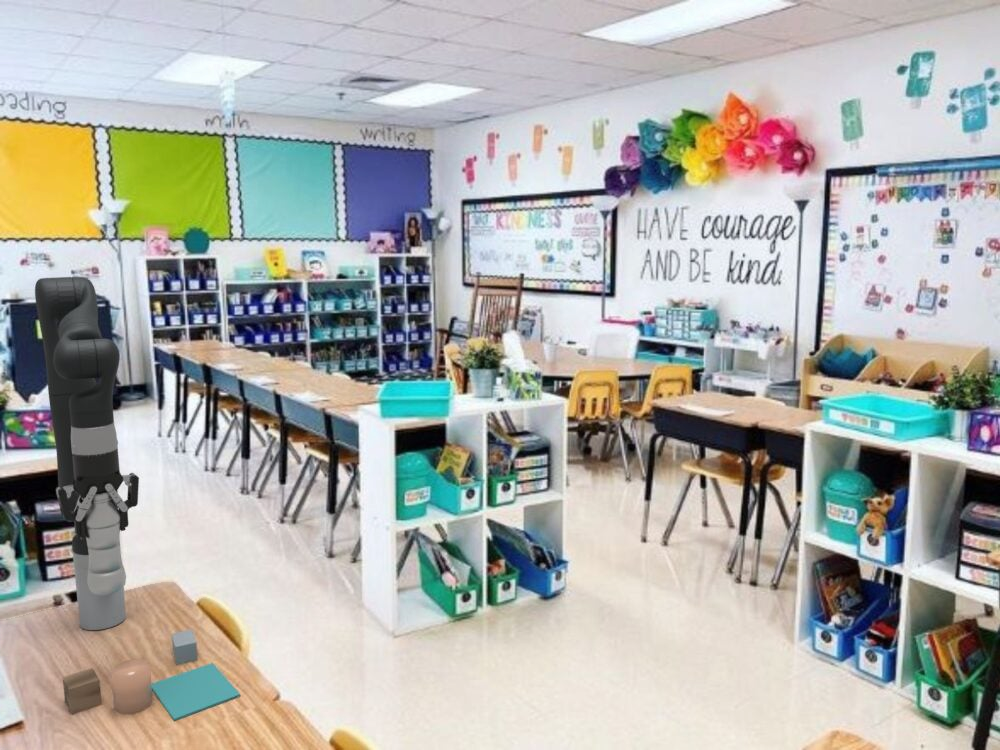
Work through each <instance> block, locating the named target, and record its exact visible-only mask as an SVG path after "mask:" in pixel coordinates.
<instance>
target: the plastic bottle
mask: <svg viewBox="0 0 1000 750" xmlns="http://www.w3.org/2000/svg"><path fill="white" fill-rule="evenodd" d="M111 500H112V498H110V495H109V493H108V492H106V493H102V494H95V495H94V497H93V501H92V502H91V503H90V506H89V508H88V510H86V512H85V515H84V517H83V520H84V521H85V532H86V539H87V546H88V552H89V571H88V579H87V583H88V586H89V589H90V591H91V592H92V593H94V594H96V595H109V594H113V593H116V592H119V591H120V590H122V589H123V587H124V588H125V586H126V582H127V581H126V580H127V575H126V571H125V567H124V564H123V560H122V553H120V549H121V539H120V538H121V537H120V534H121V533H120V532H121V530H120V521H121V516H120V513H119V511H118V510H119V509H118V510H117V508H116V507H115V506H114V505H113V504H112V503H111V502H110V501H111ZM119 543H120V544H119Z"/></svg>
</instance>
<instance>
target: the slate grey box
mask: <svg viewBox="0 0 1000 750" xmlns="http://www.w3.org/2000/svg"><path fill="white" fill-rule="evenodd" d="M171 642H172V651H173V657H174V662H175V664H176V665H177V666H178V665H182V664H187V663H191V661H192V662H195V660H196V661H198V644H197V640H196V636H195V632H194V630H193V629H192V628H191V629H188V630H186V629H185V630H183V631H182V630H181V631H178V632H173V633H171Z"/></svg>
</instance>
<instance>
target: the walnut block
mask: <svg viewBox="0 0 1000 750" xmlns="http://www.w3.org/2000/svg"><path fill="white" fill-rule="evenodd" d="M62 686H63V696H64V703H65V705H66V706H67V708H68V710H69V712H70V715H71V716H72V715H75V714H77V713H80V712H83V711H86V710H89V709H92V708H96V707H99V706H100V705H102V704H103V701H102V691H101V683H100V678H99V676H98V675H97V673H96V671H95V670H94V668H93V667H92V668H91V667H90V668H88V669H85V670H81V671H79V672H75V673H72V674H69V675H66V676H63V677H62Z"/></svg>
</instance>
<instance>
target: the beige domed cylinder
mask: <svg viewBox="0 0 1000 750" xmlns="http://www.w3.org/2000/svg"><path fill="white" fill-rule="evenodd" d="M110 676H111V686H112V687H111V689H112V697H113V698H112V700H113V709H114V711H115V713H118V714H120V715H133V714H136V713H139V712H142V711H144V710H146V709H148V708H149V707H150V706H151V705H152V703H153V700H154V699H153V690H152V686H151V684H152V674H151V665H150V662H149V661H148V660H145V659H140V658H139V659H136V658H135V659H130V660H126V661H123V662H120V663H118V664H117V665H115V666H114V667H113V668H112V669H111V671H110Z"/></svg>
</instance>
